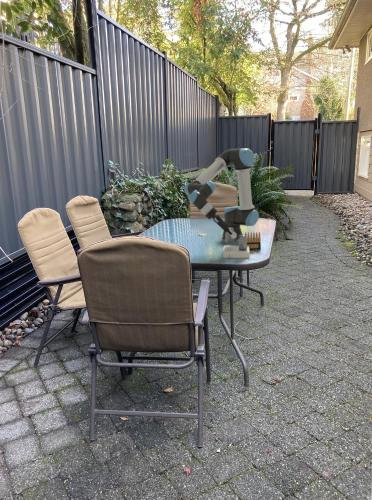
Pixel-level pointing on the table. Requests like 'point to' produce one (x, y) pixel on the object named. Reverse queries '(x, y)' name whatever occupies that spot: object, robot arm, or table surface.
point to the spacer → (228, 236)
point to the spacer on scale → (242, 242)
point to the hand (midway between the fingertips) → (235, 236)
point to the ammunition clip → (254, 241)
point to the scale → (235, 252)
